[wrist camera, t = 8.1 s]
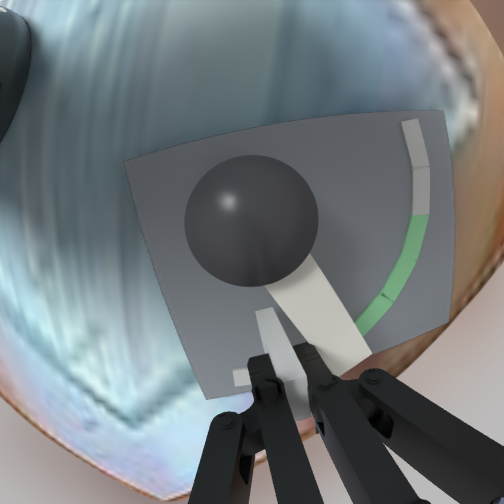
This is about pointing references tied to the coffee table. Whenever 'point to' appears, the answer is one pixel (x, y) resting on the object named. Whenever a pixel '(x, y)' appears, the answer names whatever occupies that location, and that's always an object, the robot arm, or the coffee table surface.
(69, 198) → the coffee table surface
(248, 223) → the white and grey lever
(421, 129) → the tuner board
